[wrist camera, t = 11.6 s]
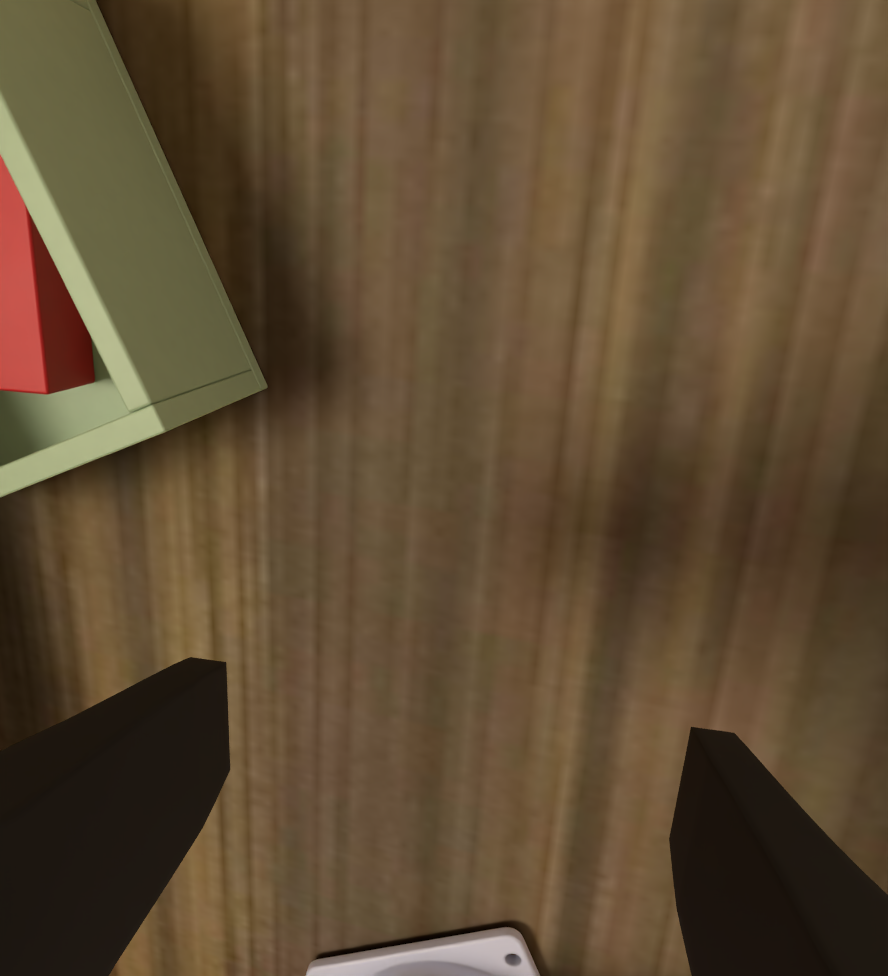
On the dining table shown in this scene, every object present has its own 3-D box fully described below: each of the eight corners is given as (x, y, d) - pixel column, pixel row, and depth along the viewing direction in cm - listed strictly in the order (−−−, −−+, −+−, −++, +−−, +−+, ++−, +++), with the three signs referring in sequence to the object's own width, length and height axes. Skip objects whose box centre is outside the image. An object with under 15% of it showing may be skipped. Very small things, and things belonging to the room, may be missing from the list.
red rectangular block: (96, 383, 20) (48, 395, 18) (-9, 373, 20) (-68, 384, 18) (76, 144, 18) (19, 130, 16) (-41, 138, 18) (-109, 124, 17)
